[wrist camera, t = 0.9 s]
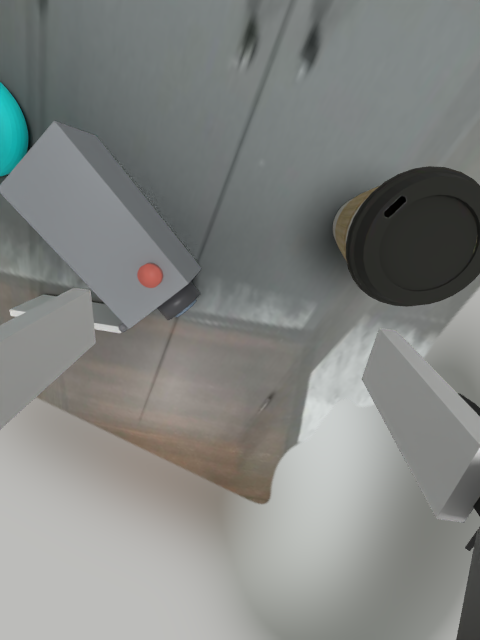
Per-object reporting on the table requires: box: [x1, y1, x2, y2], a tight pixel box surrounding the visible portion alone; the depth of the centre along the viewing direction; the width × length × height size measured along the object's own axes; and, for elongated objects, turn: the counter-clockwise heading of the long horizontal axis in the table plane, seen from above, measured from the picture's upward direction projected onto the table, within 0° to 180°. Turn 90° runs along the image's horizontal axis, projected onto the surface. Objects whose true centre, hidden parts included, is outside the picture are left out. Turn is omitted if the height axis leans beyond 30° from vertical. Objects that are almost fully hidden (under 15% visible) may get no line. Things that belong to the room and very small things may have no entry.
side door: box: [10, 294, 128, 333], centre depth 36 cm, size 14×2×6 cm, turn 82°
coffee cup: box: [333, 166, 480, 306], centre depth 27 cm, size 10×10×15 cm
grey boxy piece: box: [0, 121, 202, 329], centre depth 32 cm, size 20×9×8 cm, turn 37°
